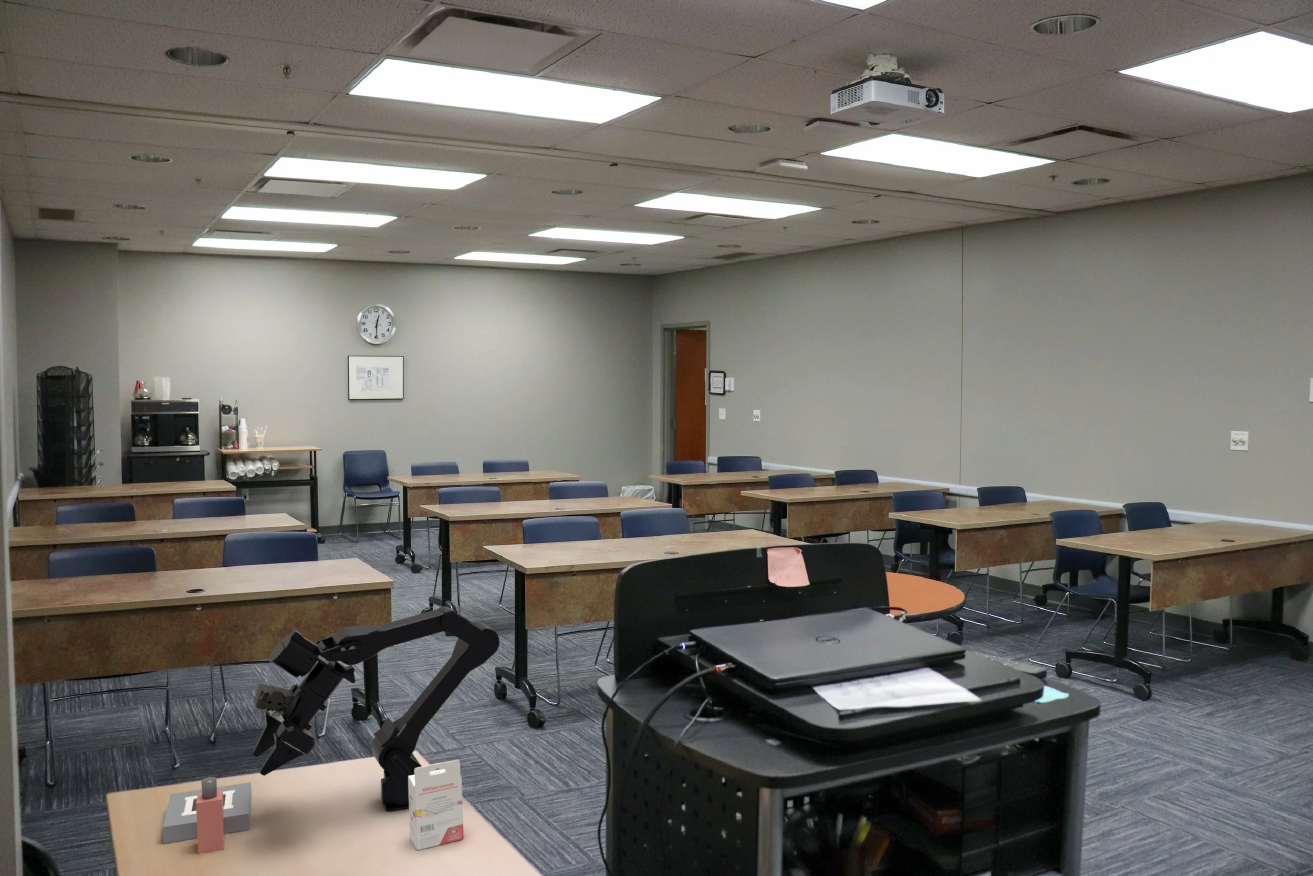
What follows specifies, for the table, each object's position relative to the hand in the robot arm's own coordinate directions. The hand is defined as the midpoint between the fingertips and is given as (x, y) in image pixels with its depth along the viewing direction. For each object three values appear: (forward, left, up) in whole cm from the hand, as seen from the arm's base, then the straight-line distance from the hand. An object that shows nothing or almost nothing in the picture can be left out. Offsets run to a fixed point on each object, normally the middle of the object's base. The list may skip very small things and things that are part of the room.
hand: (258, 764), depth 173 cm
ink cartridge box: (-29, +14, -13) cm, 35 cm away
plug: (+8, +2, -13) cm, 15 cm away
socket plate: (+9, -9, -13) cm, 18 cm away
